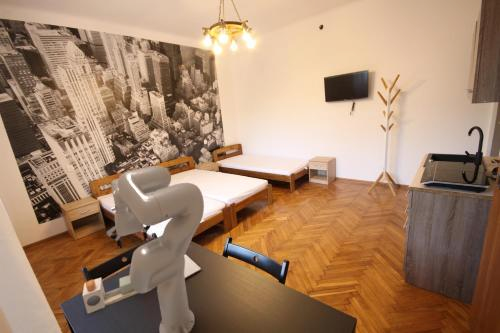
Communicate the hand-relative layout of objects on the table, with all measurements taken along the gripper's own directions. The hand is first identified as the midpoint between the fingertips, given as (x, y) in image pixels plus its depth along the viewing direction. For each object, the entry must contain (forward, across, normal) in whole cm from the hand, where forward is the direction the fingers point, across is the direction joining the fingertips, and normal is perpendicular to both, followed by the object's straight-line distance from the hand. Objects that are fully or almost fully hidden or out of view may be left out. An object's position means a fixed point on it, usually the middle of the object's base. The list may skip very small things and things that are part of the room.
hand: (133, 243), depth 100 cm
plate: (+23, +16, +1) cm, 28 cm away
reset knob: (+13, -18, -2) cm, 22 cm away
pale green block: (+22, -6, 0) cm, 23 cm away
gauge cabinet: (+22, -18, 0) cm, 29 cm away
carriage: (+21, -3, 0) cm, 21 cm away
